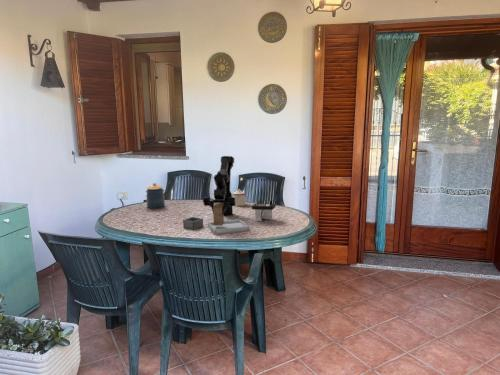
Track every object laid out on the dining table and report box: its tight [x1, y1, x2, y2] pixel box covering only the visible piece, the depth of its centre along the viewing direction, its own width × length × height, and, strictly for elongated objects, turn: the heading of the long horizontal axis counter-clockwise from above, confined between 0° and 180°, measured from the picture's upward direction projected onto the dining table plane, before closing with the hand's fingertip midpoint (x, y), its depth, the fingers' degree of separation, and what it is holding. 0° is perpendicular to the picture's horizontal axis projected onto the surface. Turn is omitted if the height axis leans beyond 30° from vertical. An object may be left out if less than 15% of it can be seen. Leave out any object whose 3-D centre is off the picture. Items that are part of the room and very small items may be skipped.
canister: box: [145, 182, 166, 209], centre depth 280 cm, size 13×13×18 cm
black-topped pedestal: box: [251, 199, 277, 222], centre depth 239 cm, size 28×26×13 cm
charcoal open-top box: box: [182, 216, 204, 230], centre depth 227 cm, size 8×8×4 cm
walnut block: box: [212, 203, 225, 226], centre depth 221 cm, size 5×5×12 cm
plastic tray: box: [207, 218, 250, 236], centre depth 222 cm, size 20×17×2 cm
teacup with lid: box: [232, 188, 246, 207], centre depth 282 cm, size 12×9×12 cm
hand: (218, 213), depth 220 cm, fingers closed on walnut block, 5 cm apart
